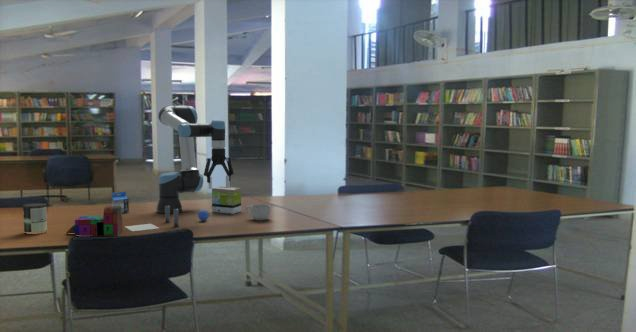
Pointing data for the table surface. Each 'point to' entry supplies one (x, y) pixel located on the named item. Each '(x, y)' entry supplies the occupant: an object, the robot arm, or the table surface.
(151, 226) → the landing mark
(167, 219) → the gate posts
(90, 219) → the block puzzle
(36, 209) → the coffee can
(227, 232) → the table surface
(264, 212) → the teacup
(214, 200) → the tea box
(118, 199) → the label tape box
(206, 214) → the ball
